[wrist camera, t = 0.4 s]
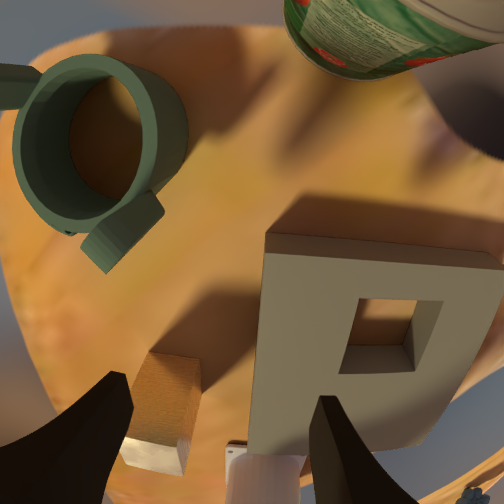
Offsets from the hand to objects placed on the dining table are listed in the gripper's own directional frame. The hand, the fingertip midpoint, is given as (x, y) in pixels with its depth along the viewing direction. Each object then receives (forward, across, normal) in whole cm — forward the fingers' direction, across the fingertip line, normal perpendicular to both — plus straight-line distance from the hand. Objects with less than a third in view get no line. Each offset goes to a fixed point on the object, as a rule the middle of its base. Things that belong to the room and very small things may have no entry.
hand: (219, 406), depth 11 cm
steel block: (+10, +5, +8) cm, 14 cm away
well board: (+10, -9, +5) cm, 14 cm away
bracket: (+10, +8, -8) cm, 15 cm away
